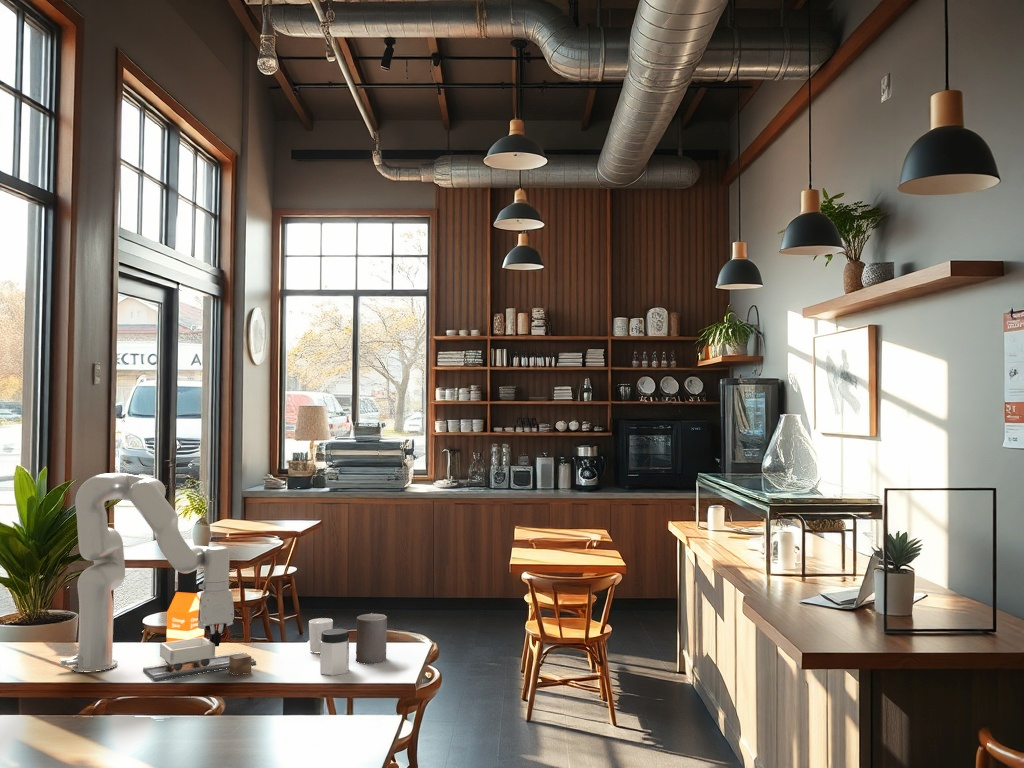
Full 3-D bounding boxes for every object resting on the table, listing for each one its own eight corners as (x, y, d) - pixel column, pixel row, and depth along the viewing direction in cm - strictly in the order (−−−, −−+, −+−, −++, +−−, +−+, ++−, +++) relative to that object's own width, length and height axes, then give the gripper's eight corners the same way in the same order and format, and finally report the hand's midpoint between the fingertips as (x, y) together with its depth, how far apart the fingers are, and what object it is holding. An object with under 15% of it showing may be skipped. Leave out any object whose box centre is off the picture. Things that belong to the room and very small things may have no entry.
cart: (170, 672, 246) (170, 650, 246) (159, 664, 255) (160, 643, 256) (214, 665, 253) (215, 644, 254) (202, 657, 263) (203, 636, 263)
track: (154, 681, 242) (154, 676, 242) (143, 671, 253) (143, 666, 253) (255, 664, 260) (255, 659, 260) (240, 655, 271) (240, 651, 271)
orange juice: (187, 658, 268) (188, 595, 269) (165, 656, 271) (167, 594, 272) (204, 652, 275) (205, 591, 276) (183, 650, 278) (184, 589, 280)
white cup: (319, 655, 271) (319, 624, 271) (303, 651, 275) (303, 621, 276) (337, 650, 277) (337, 620, 278) (322, 647, 282) (322, 617, 282)
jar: (345, 675, 247) (346, 634, 248) (318, 676, 247) (318, 635, 247) (350, 667, 256) (350, 628, 257) (324, 667, 255) (324, 628, 256)
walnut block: (234, 676, 247) (234, 659, 248) (229, 672, 251) (229, 655, 252) (251, 673, 250) (251, 656, 251) (245, 669, 254) (245, 653, 255)
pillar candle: (349, 661, 263) (350, 613, 264) (370, 654, 271) (371, 608, 272) (372, 666, 257) (372, 617, 258) (393, 659, 266) (393, 611, 266)
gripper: (195, 590, 253) (194, 652, 252) (243, 585, 262) (242, 644, 261) (188, 587, 259) (186, 647, 258) (235, 582, 268) (234, 640, 267)
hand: (215, 645), depth 260 cm, fingers closed
